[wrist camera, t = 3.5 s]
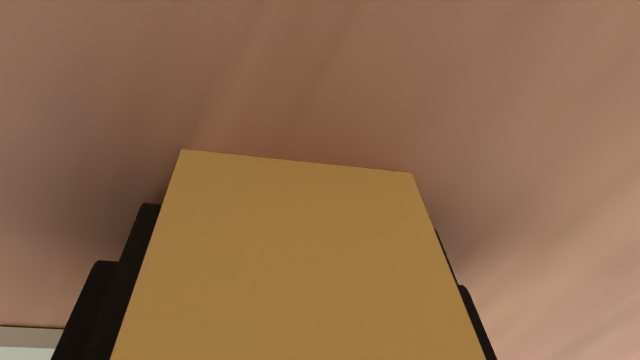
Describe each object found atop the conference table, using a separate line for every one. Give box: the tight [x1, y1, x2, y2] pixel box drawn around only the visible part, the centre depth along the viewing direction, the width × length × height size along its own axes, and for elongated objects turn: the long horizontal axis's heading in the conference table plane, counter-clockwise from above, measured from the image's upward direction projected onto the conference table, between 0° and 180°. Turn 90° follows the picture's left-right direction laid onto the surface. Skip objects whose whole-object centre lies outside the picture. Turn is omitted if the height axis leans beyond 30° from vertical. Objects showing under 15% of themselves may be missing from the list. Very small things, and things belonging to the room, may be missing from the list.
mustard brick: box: [110, 149, 486, 360], centre depth 9 cm, size 5×5×6 cm
